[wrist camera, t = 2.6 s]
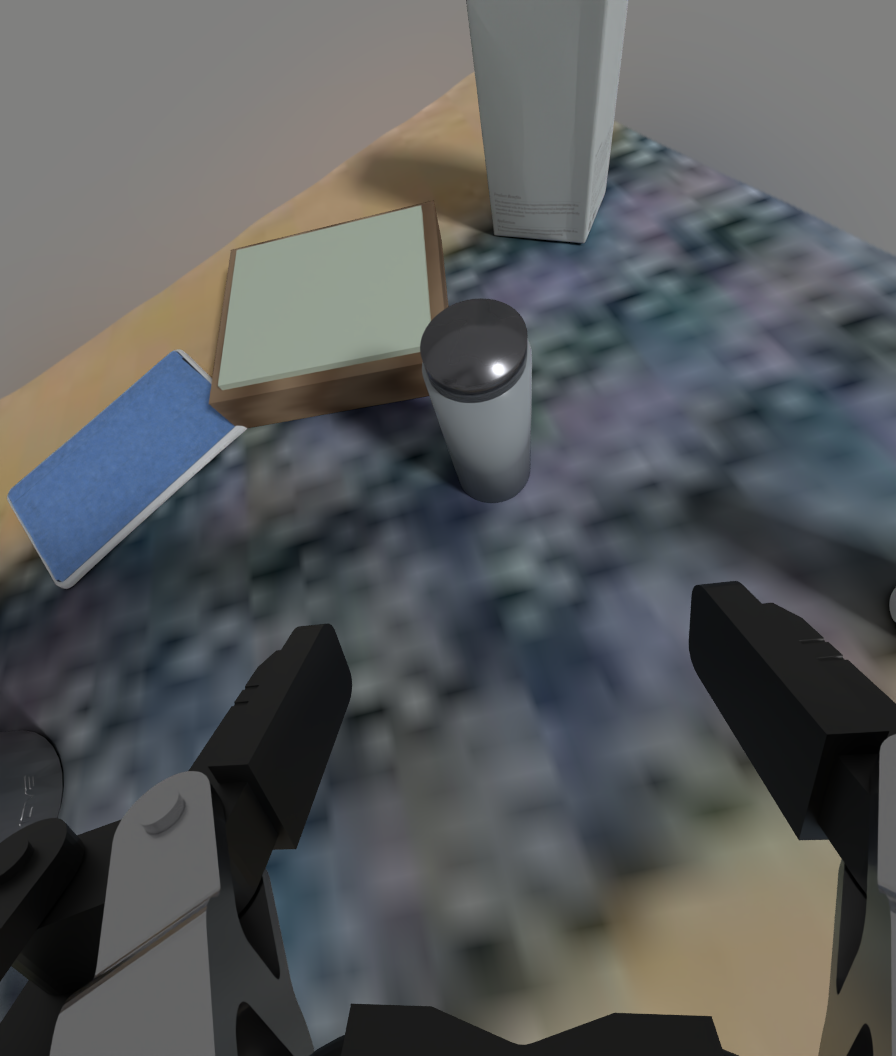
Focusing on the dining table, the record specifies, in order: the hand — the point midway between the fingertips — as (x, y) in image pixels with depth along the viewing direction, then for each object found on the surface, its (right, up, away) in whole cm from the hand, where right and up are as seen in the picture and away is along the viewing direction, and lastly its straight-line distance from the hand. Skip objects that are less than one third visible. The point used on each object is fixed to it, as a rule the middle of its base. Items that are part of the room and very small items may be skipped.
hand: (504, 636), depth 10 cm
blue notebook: (-28, +8, +26) cm, 39 cm away
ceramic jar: (+2, +6, +20) cm, 21 cm away
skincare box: (+7, +29, +27) cm, 40 cm away
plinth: (-10, +19, +26) cm, 34 cm away
